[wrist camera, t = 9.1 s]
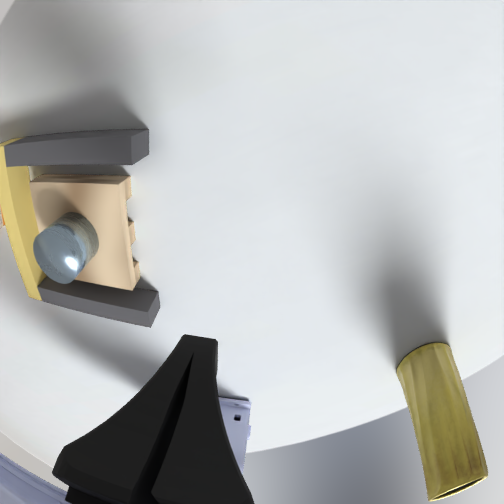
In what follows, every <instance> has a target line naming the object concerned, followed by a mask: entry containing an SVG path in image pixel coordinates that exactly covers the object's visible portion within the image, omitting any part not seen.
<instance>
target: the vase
mask: <svg viewBox="0 0 504 504" xmlns="http://www.w3.org/2000/svg"><path fill="white" fill-rule="evenodd" d="M397 376H398V379H399V381H400V383H401V385H402V388H403V391H404V395H405V399H406V402H407V405H408V408H409V411H410V415H411V419H412V422H413V426H414V430H415V434H416V439H417V443H418V447H419V451H420V455H421V460H422V465H423V470H424V475H425V481H426V488H427V494H428V501H435V500H439V499H442V498H445V497H448V496H451V495H454V494H456V493H459V492H461V491H463V490H465V489H468V488H470V487H472V486H474V485H475V484H477V483H479V482H481V481H482V480H484V479H485V478H486V477H487V476H488V469H487V465H486V461H485V457H484V453H483V450H482V446H481V443H480V439H479V436H478V432H477V430H476V426H475V423H474V420H473V417H472V414H471V410H470V407H469V404H468V401H467V397H466V394H465V390H464V387H463V384H462V381H461V378H460V375H459V372H458V369H457V366H456V364H455V361H454V358H453V355H452V350H451V348H450V347H449V346H448V345H447V344H444V343H430V344H427V345H424V346H421V347H419V348H417V349H415V350H414V351H412V352H411V353H409V354H408V355H407V356H406V357H405V358H404V359H403V360H402V361H401V363H400V364H399V366H398V368H397Z"/></svg>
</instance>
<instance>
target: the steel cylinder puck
mask: <svg viewBox="0 0 504 504" xmlns="http://www.w3.org/2000/svg"><path fill="white" fill-rule="evenodd" d="M98 248H99V239H98V235H97V233H96V230H95V228H94V227H93V225H92V224H91V223H90V221H89V220H88V219H87V218H85V217H84V216H82V215H81V214H79V213H76V212H67V213H65V214H63V215H62V216H61V217H59V218H58V219H57V220H55V221H54V222H53V223H52V224H50V225H49V226H48V227H47V228H46V229H44V230H43V231H42V232H41V233H39V234H38V235H37V236H36V238H35V239H34V243H33V252H34V256H35V259H36V261H37V263H38V265H39V266H40V268H41V269H42V271H43V272H44V273H45V274H46V275H47V276H48V277H49V278H51V279H52V280H54V281H56V282H58V283H62V284H68V283H71V282H72V281H73V280H74V279H75V278H76V277H77V276H78V274H79V273H80V272H81V271H82V270H83V269H84V267H85V266H86V265H87V264H88V263H89V262H90V261H91V259H92V258H93V257H94V256H95V255H96V254H97V252H98Z"/></svg>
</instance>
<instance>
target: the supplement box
mask: <svg viewBox="0 0 504 504" xmlns="http://www.w3.org/2000/svg"><path fill="white" fill-rule="evenodd" d="M4 225H5V222H4V218H3V214H2V209H1V205H0V228H1V227H2V226H4Z"/></svg>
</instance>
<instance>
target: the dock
mask: <svg viewBox="0 0 504 504" xmlns="http://www.w3.org/2000/svg"><path fill="white" fill-rule="evenodd" d="M147 155H149V129H123V130H97V131H80V132H67V133H56V134H47V135H38V136H30V137H23V138H16V139H11V140H8V141H6V142H3V143H1V144H0V205H1V209H2V214H3V218H4V222H5V226H6V229H7V233H8V237H9V240H10V243H11V247H12V250H13V253H14V256H15V259H16V262H17V265H18V268H19V271H20V274H21V277H22V280H23V282H24V285H25V288H26V290H27V293H28V295H29V297H30V298H34V299H37V300H40V301H44V302H47V303H51V304H54V305H58V306H61V307H65V308H69V309H72V310H76V311H80V312H84V313H88V314H92V315H96V316H100V317H104V318H108V319H113V320H117V321H122V322H126V323H131V324H135V325H140V326H145V327H150V328H151V326H152V324H153V322H154V319H155V317H156V315H157V313H158V311H159V309H160V301H159V294H158V292H157V291H151V290H145V289H139V288H134V289H133V290H126V289H121V288H115V287H110V286H105V285H100V284H95V283H90V282H85V281H80V280H75V279H74V280H73V281H72V282H71V283H68V284H62V283H58V282H56V281H54V280H52V279H51V278H49V277H48V276H47V275H46V274H45V273H44V272H43V271H42V269H41V268H40V266H39V265H38V263H37V261H36V259H35V256H34V252H33V243H34V239H35V238H36V236H37V235H38V234H39V230H38V226H37V221H36V217H35V212H34V207H33V202H32V197H31V191H30V185H29V182H30V177H29V170H28V166H34V165H70V164H105V165H133V164H134V163H136V162H138V161H139V160H141V159H142V158H144V157H146V156H147Z"/></svg>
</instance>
